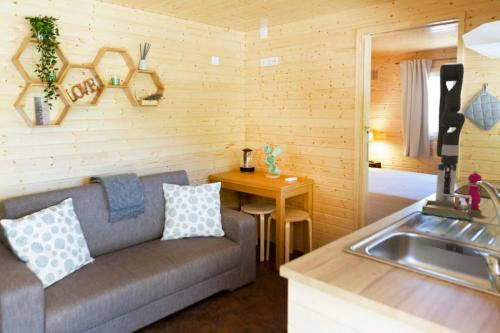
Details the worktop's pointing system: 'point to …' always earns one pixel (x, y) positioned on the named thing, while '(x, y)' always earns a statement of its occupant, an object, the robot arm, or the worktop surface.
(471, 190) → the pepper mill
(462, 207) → the ball
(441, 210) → the tray
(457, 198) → the grey brown angular piece
